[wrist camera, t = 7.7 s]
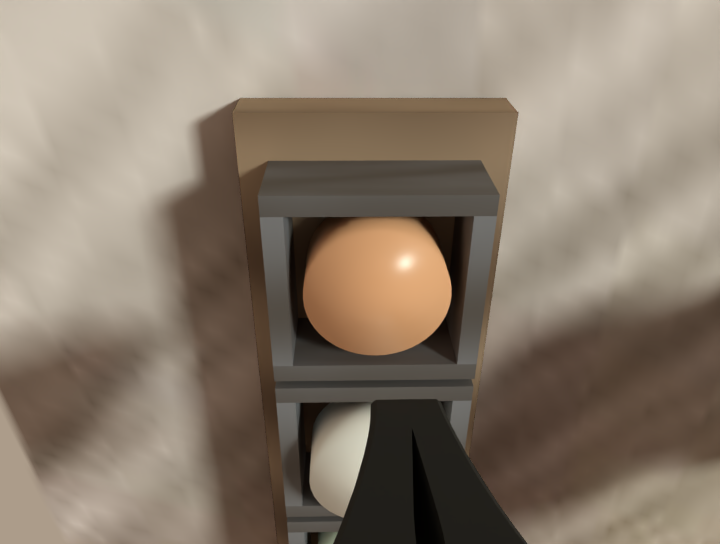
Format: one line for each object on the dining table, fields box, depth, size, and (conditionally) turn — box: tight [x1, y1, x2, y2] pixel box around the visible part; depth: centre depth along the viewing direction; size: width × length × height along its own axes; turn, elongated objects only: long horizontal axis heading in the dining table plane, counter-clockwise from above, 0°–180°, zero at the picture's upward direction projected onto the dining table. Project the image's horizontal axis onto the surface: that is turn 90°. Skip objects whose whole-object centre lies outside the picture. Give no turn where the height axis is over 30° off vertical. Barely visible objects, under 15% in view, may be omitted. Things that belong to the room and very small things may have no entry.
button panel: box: [232, 98, 518, 544], centre depth 22 cm, size 22×8×4 cm, turn 0°
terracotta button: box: [303, 217, 451, 355], centre depth 18 cm, size 4×4×2 cm
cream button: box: [309, 402, 373, 518], centre depth 20 cm, size 4×4×2 cm
